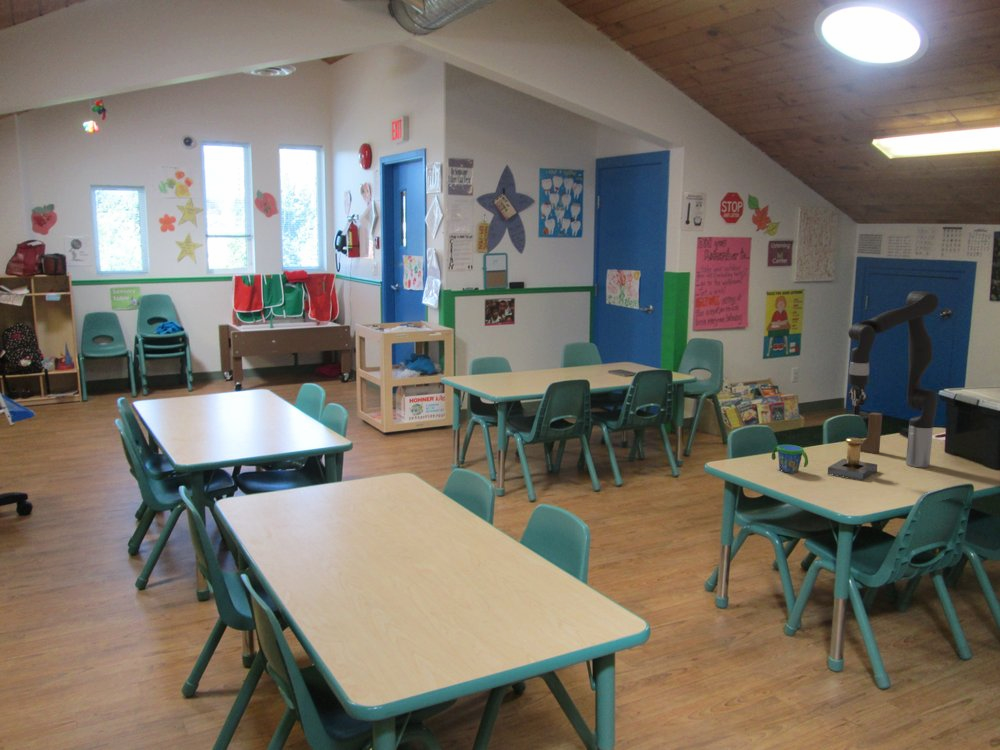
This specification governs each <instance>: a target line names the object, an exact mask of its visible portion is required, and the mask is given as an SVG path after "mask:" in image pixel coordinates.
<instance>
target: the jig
mask: <svg viewBox="0 0 1000 750" xmlns="http://www.w3.org/2000/svg"><path fill="white" fill-rule="evenodd" d="M846 462H847V458H842V459H840V460H839V461H837V462H835V463H833V464H831V465H830V466H827V467H828V468H827V475H829V474H833V475H832V476H835V475H838V476H837V477H840V476H844V477H843V478H846V477H848V478H847V479H851V478H853V479H852V480H856V479H857V481H862V480H863V481H864V480H867V478H869V477H870V476H872V475H874V474H875V473H877V472H878V464H877V463H871V462H865V461H860V463H859V469H855V468H850V467H846Z"/></svg>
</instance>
